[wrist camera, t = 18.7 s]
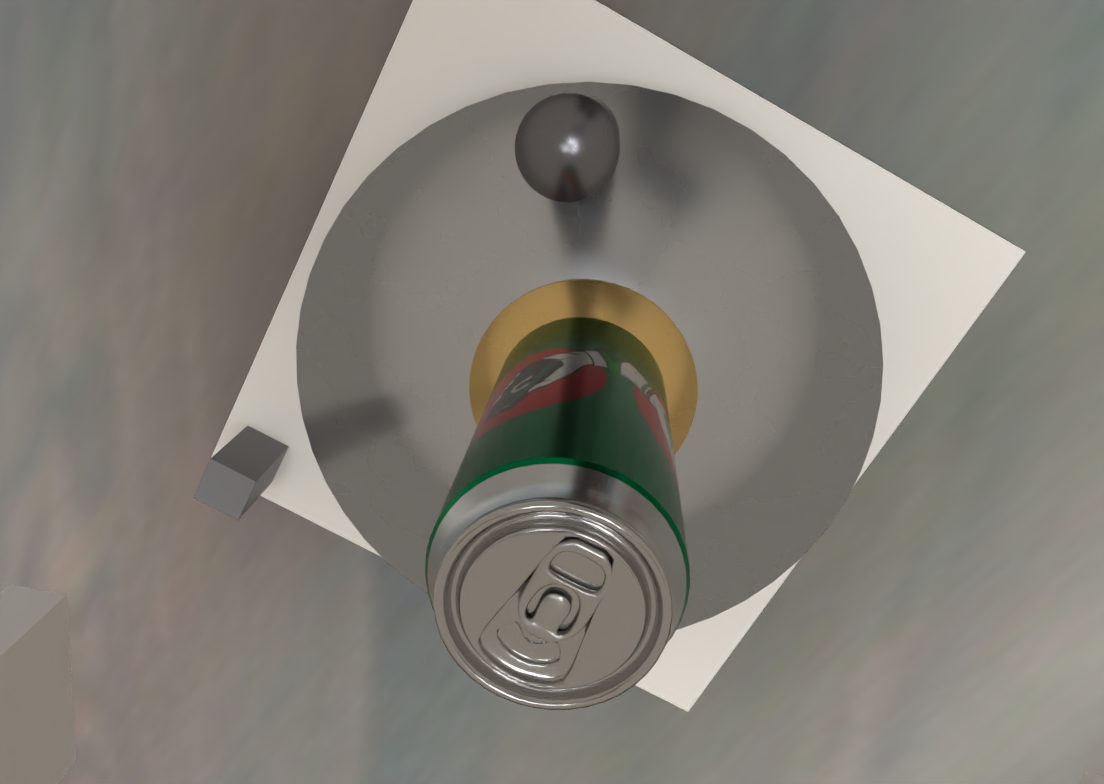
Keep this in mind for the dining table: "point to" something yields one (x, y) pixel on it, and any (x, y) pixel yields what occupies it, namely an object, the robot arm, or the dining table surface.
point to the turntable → (596, 316)
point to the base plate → (646, 61)
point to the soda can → (564, 524)
